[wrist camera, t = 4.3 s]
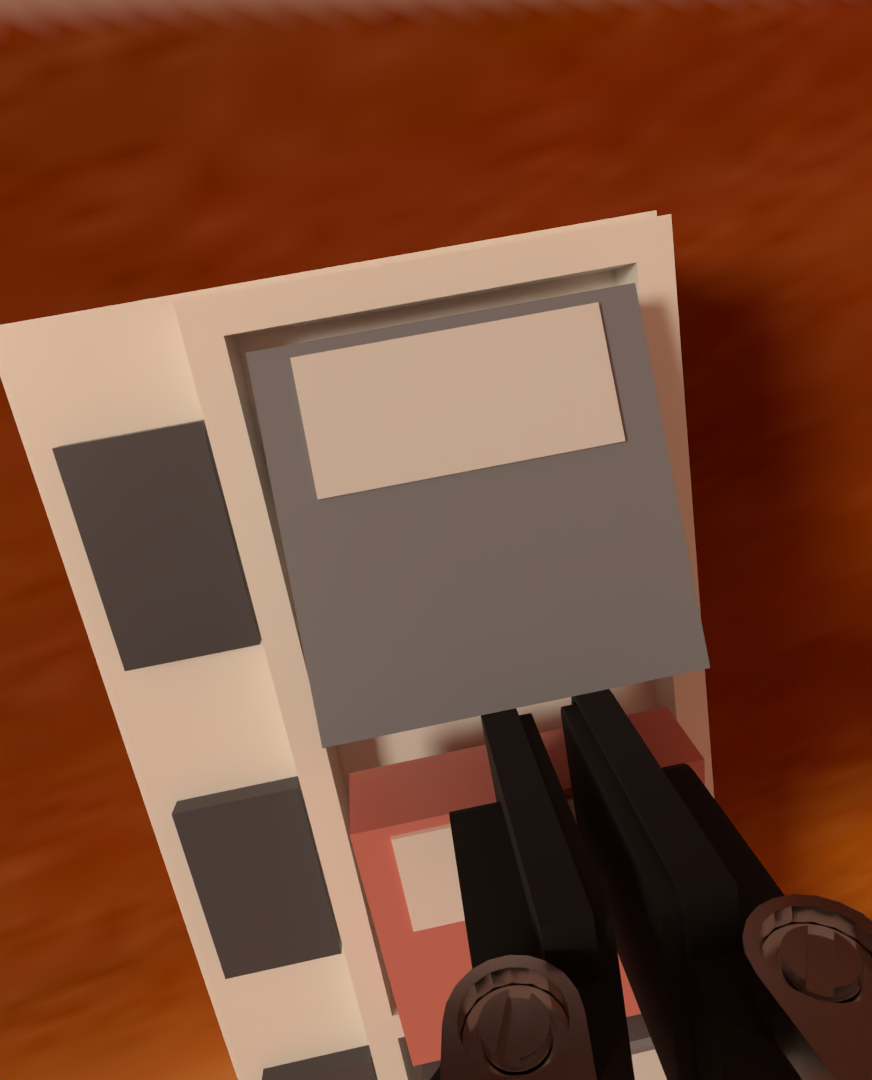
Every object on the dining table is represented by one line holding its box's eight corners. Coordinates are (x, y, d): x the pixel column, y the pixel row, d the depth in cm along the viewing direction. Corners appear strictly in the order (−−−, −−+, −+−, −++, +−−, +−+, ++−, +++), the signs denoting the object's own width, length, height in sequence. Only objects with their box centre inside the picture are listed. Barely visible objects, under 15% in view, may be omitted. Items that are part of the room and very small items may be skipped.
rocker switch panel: (652, 979, 22) (752, 1198, 17) (312, 1057, 22) (293, 1310, 16) (571, 251, 16) (682, 197, 11) (99, 334, 16) (-53, 325, 10)
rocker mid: (676, 931, 14) (710, 1001, 13) (407, 992, 14) (412, 1070, 13) (666, 706, 12) (706, 762, 11) (349, 773, 12) (349, 838, 11)
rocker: (672, 653, 11) (712, 668, 10) (332, 723, 11) (322, 750, 10) (606, 315, 11) (636, 281, 10) (265, 377, 11) (244, 350, 10)
